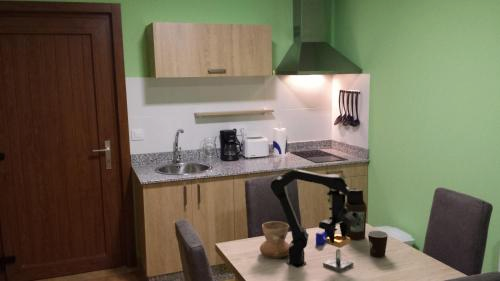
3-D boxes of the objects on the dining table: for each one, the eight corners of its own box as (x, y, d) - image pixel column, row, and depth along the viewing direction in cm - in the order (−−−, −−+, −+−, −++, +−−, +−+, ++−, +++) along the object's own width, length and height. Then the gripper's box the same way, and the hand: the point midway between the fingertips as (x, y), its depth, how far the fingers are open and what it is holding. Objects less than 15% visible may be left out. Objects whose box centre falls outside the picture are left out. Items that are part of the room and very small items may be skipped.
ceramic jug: (292, 262, 199) (292, 230, 197) (259, 262, 199) (259, 230, 198) (290, 247, 217) (290, 218, 215) (260, 247, 217) (259, 218, 216)
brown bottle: (343, 233, 233) (343, 186, 230) (364, 233, 233) (364, 185, 229) (346, 240, 223) (346, 191, 219) (368, 240, 222) (369, 191, 219)
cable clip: (323, 237, 229) (323, 225, 228) (331, 238, 227) (331, 227, 226) (313, 244, 219) (313, 232, 218) (321, 246, 217) (321, 234, 216)
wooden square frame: (339, 247, 187) (339, 242, 187) (326, 243, 193) (326, 237, 192) (350, 243, 192) (350, 237, 191) (336, 239, 197) (336, 233, 197)
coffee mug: (388, 259, 199) (388, 237, 198) (368, 258, 201) (368, 236, 199) (386, 249, 210) (386, 228, 209) (366, 248, 212) (367, 228, 211)
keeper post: (340, 272, 187) (340, 255, 186) (323, 265, 194) (323, 249, 193) (353, 266, 193) (353, 249, 192) (336, 260, 200) (336, 243, 199)
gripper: (339, 213, 178) (339, 251, 180) (367, 204, 190) (367, 240, 192) (317, 208, 186) (318, 244, 188) (346, 199, 198) (345, 233, 200)
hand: (338, 240), depth 192 cm, fingers closed on wooden square frame, 7 cm apart
